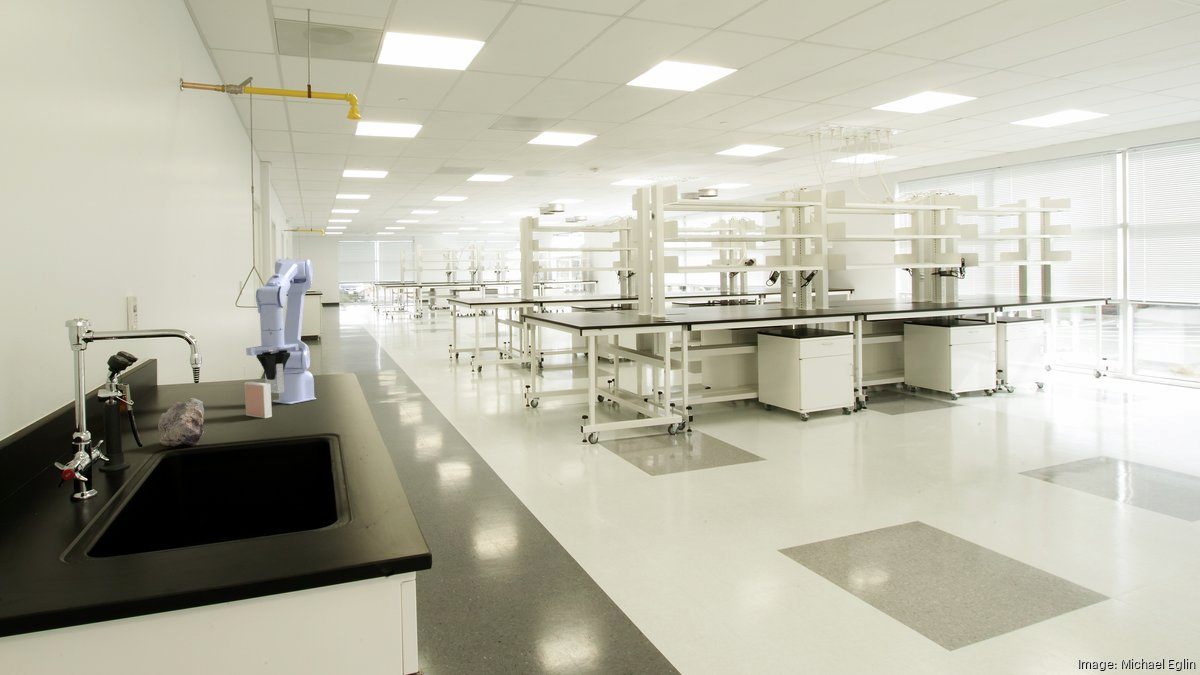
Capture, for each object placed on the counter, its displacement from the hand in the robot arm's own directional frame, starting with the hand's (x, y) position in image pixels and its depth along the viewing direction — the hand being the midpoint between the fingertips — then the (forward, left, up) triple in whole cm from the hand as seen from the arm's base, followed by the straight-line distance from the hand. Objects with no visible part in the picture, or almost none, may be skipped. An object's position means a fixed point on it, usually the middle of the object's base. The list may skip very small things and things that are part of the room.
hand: (274, 378), depth 179 cm
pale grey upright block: (0, 0, -4) cm, 4 cm away
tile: (+5, 0, -10) cm, 11 cm away
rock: (+32, +12, -10) cm, 36 cm away
